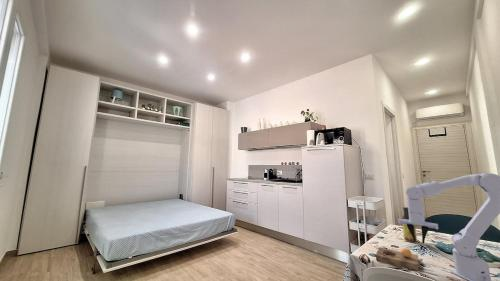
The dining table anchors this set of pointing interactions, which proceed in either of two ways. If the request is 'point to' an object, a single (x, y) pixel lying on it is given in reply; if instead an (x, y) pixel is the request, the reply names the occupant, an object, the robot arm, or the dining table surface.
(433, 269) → the dining table surface
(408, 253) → the ball
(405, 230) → the sauce bottle
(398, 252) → the board
